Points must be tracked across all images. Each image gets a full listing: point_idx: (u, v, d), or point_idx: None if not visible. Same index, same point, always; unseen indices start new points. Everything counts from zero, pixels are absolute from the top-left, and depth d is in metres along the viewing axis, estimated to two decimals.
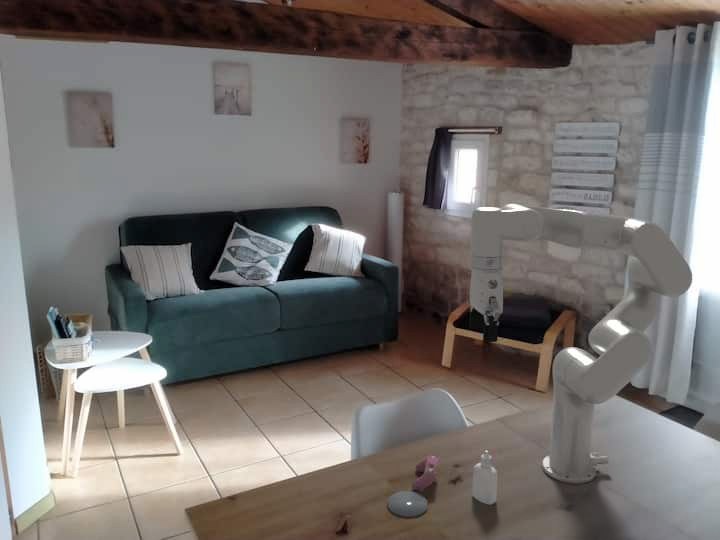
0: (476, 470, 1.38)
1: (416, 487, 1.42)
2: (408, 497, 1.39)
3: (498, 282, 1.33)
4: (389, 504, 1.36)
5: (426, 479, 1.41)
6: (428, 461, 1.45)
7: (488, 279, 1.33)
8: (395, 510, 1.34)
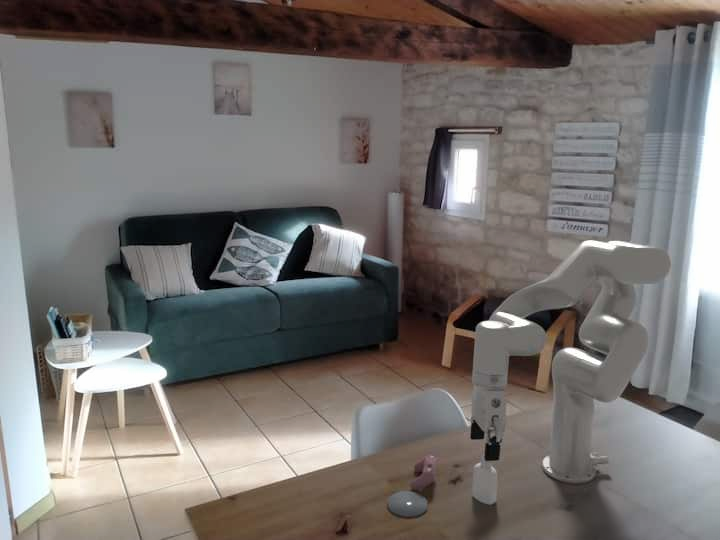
0: (476, 470, 1.38)
1: (415, 487, 1.42)
2: (408, 497, 1.39)
3: (501, 401, 1.29)
4: (389, 504, 1.36)
5: (425, 479, 1.41)
6: (427, 461, 1.45)
7: (491, 398, 1.29)
8: (395, 510, 1.34)
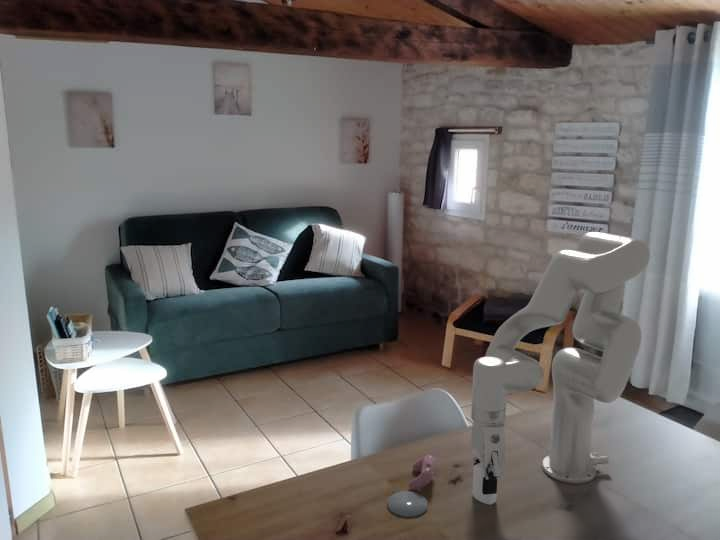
0: (476, 470, 1.38)
1: (413, 487, 1.42)
2: (408, 497, 1.39)
3: (500, 436, 1.31)
4: (389, 504, 1.36)
5: (423, 479, 1.41)
6: (425, 461, 1.45)
7: (490, 434, 1.31)
8: (395, 510, 1.34)
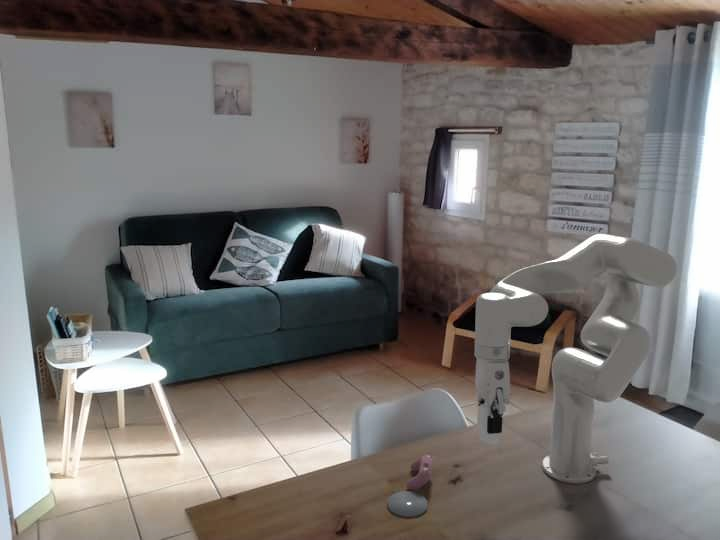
0: (480, 410, 1.35)
1: (411, 487, 1.42)
2: (408, 497, 1.39)
3: (505, 373, 1.28)
4: (389, 504, 1.36)
5: (421, 478, 1.42)
6: (423, 460, 1.45)
7: (494, 370, 1.28)
8: (395, 510, 1.34)
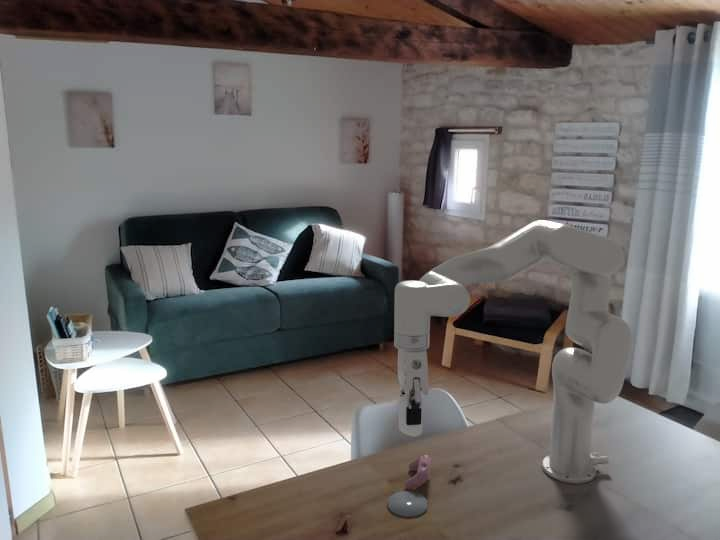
0: (401, 401, 1.32)
1: (409, 486, 1.43)
2: (408, 497, 1.39)
3: (422, 362, 1.25)
4: (389, 504, 1.36)
5: (419, 478, 1.42)
6: (421, 460, 1.45)
7: (411, 359, 1.25)
8: (395, 510, 1.34)
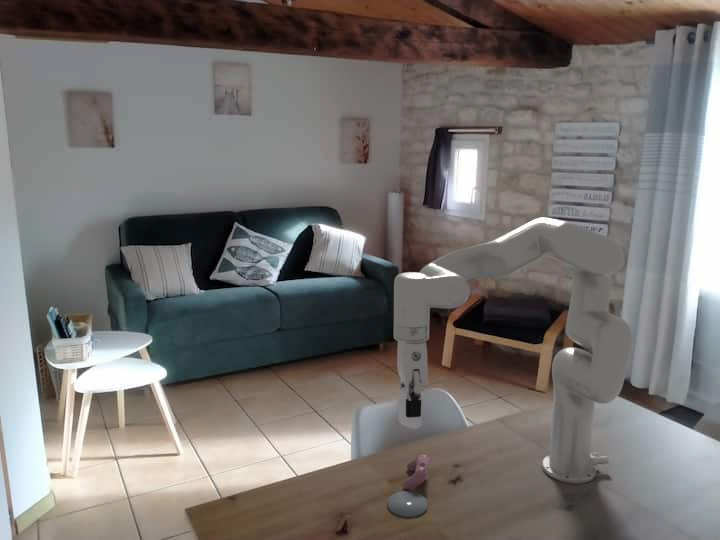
0: (400, 393, 1.31)
1: (407, 486, 1.43)
2: (408, 497, 1.39)
3: (422, 354, 1.25)
4: (389, 504, 1.36)
5: (417, 478, 1.42)
6: (419, 460, 1.45)
7: (411, 351, 1.24)
8: (395, 510, 1.34)
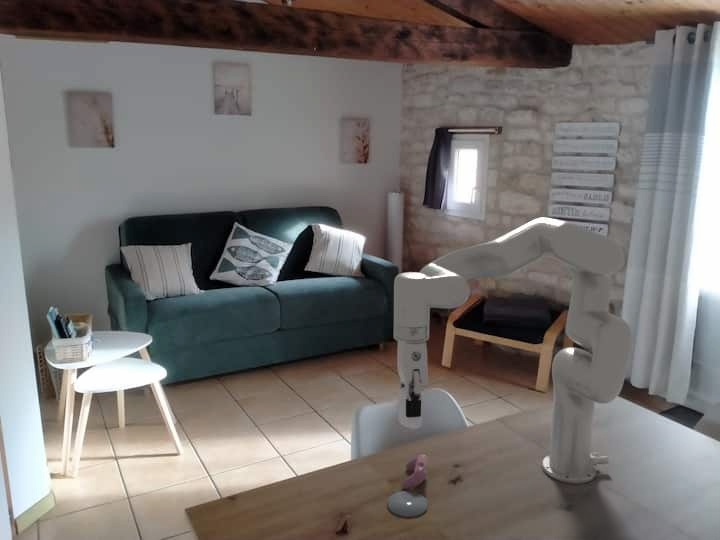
0: (400, 393, 1.31)
1: (406, 486, 1.43)
2: (408, 497, 1.39)
3: (422, 354, 1.25)
4: (389, 504, 1.36)
5: (416, 478, 1.42)
6: (418, 460, 1.45)
7: (411, 351, 1.24)
8: (395, 510, 1.34)
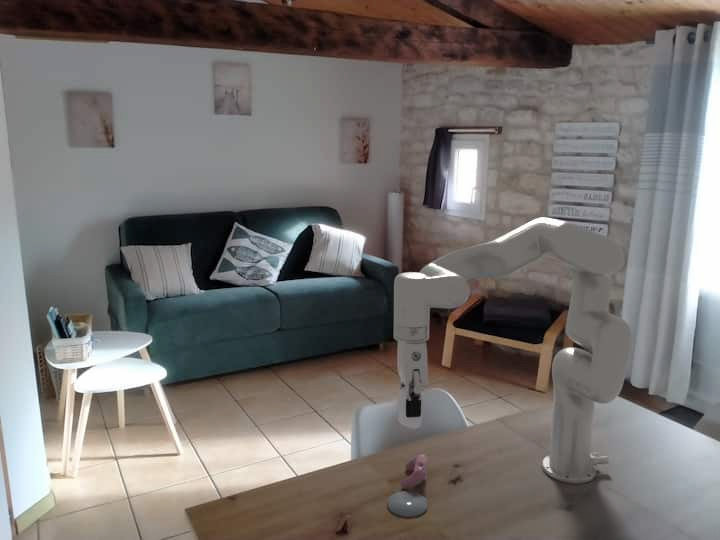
0: (400, 393, 1.31)
1: (406, 486, 1.43)
2: (408, 497, 1.39)
3: (422, 354, 1.25)
4: (389, 504, 1.36)
5: (416, 478, 1.42)
6: (418, 460, 1.45)
7: (411, 351, 1.24)
8: (395, 510, 1.34)
